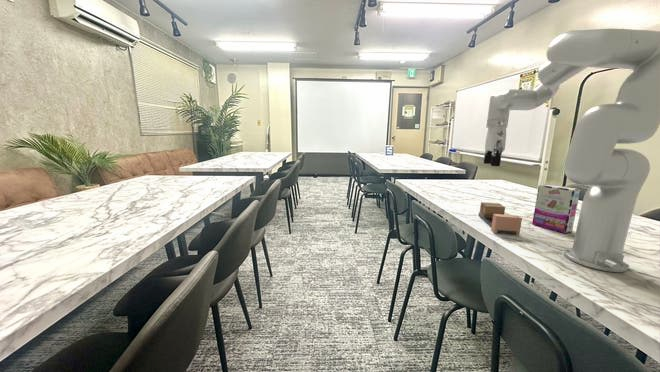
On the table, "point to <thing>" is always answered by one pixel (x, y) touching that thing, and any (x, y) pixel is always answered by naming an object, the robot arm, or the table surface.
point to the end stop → (506, 224)
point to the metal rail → (489, 222)
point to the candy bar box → (556, 207)
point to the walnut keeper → (491, 209)
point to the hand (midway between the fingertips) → (491, 164)
